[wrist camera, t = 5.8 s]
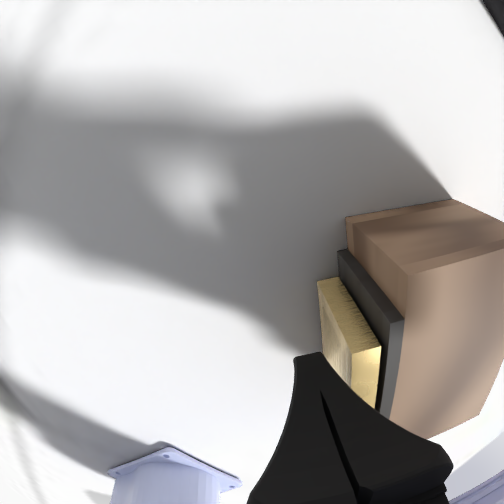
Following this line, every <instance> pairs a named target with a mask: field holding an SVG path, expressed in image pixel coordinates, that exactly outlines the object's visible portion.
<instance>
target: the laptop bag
mask: <svg viewBox="0 0 504 504" xmlns="http://www.w3.org/2000/svg"><path fill="white" fill-rule="evenodd" d="M483 2H484V4H485V5H486V7H487V8H488V10H489V12H490V13H491V15H492V16H493V18H494V20H495V22H496V23H497V25H498V27H499V29H500V30H501V32H502V34H503V36H504V0H483Z"/></svg>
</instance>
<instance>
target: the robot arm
mask: <svg viewBox="0 0 504 504" xmlns="http://www.w3.org/2000/svg"><path fill="white" fill-rule="evenodd" d="M293 362H294V371H295V372H294V386H293V393H292V399H291V404H290V408H289V412H288V416H287V420H286V423H285V426H284V429H283V432H282V435H281V437H280V440H279V442H278V445H277V447H276V449H275V452H274V454H273V456H272V458H271V460H270V462H269V463H268V465H267V467H266V469H265V471H264V473H263V474H262V476H261V478H260V479H259V481H258V482H257V484H256V485H255V487H254V488H253V490H252V491H251V493H250V495H249V498H248V501H247V504H504V470H502V471H501V472H500V473H498V474H496V475H495V476H493V477H491V478H490V479H488V480H487V481H485V482H483V483H482V484H480V485H478V486H476V487H475V488H473V489H471V490H469V491H467V492H466V493H464V494H462V495H460V496H458V497H456V498H454V499H452V500H450V501H448V499H447V497H446V495H445V492H446V491H447V489H446V487H445V484H444V482H445V480H446V479H447V477H448V476H449V475H450V473H451V471H452V469H453V463H452V461H451V459H450V457H449V456H448V454H447V453H446V452H445V450H444V449H443V448H442V446H441V445H439V444H436V443H434V442H431V441H429V440H426V439H424V438H422V437H420V436H417V435H415V434H413V433H411V432H409V431H407V430H406V429H404V428H402V427H401V426H399V425H397V424H396V423H394V422H392V421H391V420H389V419H387V418H386V417H385V416H383V415H382V414H380V413H379V412H378V411H376V410H375V409H374V408H372V407H371V406H370V405H369V404H368V403H366V402H365V401H364V400H363V399H362V398H361V397H360V396H359V395H357V394H356V393H355V392H354V391H353V390H352V389H351V388H350V387H349V386H348V385H347V383H346V382H345V381H344V380H343V379H342V378H341V377H340V376H339V375H338V374H337V372H336V371H335V370H334V369H333V367H332V366H331V365H330V364H329V362H328V361H327V359H326V358H325V356H324V355H323V353H321V352H316V353H312V354H307V355H302V356H297V357H295V358H294V359H293ZM108 475H110V476H111V477H113V478H115V479H116V480H115V484H114V488H113V493H112V497H111V501H110V504H220V493H222V492H225V491H229V490H232V489H235V488H238V487H241V486H242V485H243V484H242V481H241V480H239V479H237V478H234V477H232V476H230V475H227V474H225V473H223V472H221V471H218V470H216V469H214V468H212V467H210V466H208V465H206V464H203V463H201V462H199V461H197V460H195V459H193V458H191V457H190V456H188V455H186V454H184V453H182V452H180V451H178V450H176V449H174V448H171V447H167V448H164V449H162V450H160V451H157V452H155V453H152V454H150V455H147V456H145V457H142V458H140V459H137V460H135V461H132V462H129V463H127V464H124V465H121V466H118V467H116V468H113V469H110V470H108Z"/></svg>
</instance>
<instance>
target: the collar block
mask: <svg viewBox="0 0 504 504" xmlns="http://www.w3.org/2000/svg"><path fill="white" fill-rule="evenodd" d="M345 221H346V233H347V246H348V249H346V250H341V251H337V254H338V267H339V278H340V280H341V282H342V283H343V285H344V286H345V288H346V289H347V291H348V293H349V294H350V296H351V297H352V299H353V301H354V302H355V304H356V305H357V307H358V309H359V310H360V312H361V314H362V315H363V317H364V318H365V320H366V322H367V323H368V325H369V327H370V328H371V330H372V332H373V333H374V335H375V337H376V338H377V340H378V342H379V343H380V345H381V354H380V365H379V375H378V384H377V392H376V400H375V408H374V409H375V410H376V411H378V412H379V413H380V414H382V415H383V416H385V417H386V418H387V419H389V420H391V421H392V422H394V423H396V424H397V425H399V426H401V427H402V428H404V429H406V430H407V431H409V432H411V433H413V434H415V435H417V436H420V437H422V438H424V439H429V438H431V437H433V436H436V435H438V434H440V433H443V432H445V431H447V430H449V429H451V428H453V427H456V426H458V425H460V424H462V423H464V422H466V421H468V420H470V419H472V418H474V417H476V416H477V415H479V413H480V411H481V409H482V407H483V405H484V403H485V401H486V399H487V397H488V395H489V393H490V390H491V388H492V386H493V384H494V381H495V379H496V376H497V374H498V372H499V369H500V367H501V364H502V361H503V359H504V222H502V221H500V220H498V219H496V218H493V217H491V216H489V215H487V214H485V213H483V212H481V211H479V210H477V209H474V208H472V207H470V206H468V205H466V204H463V203H461V202H459V201H456V200H454V199H450V200H444V201H438V202H432V203H426V204H420V205H414V206H408V207H402V208H396V209H390V210H385V211H379V212H373V213H367V214H362V215H356V216H350V217H345Z"/></svg>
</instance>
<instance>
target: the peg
mask: <svg viewBox="0 0 504 504" xmlns="http://www.w3.org/2000/svg"><path fill="white" fill-rule="evenodd" d="M317 287H318V298H319V309H320V320H321V332H322V346H323V355H324V356H325V358H326V359H327V361H328V362H329V364H330V365H331V366H332V367H333V369H334V370H335V371H336V372H337V374H338V375H339V376H340V377H341V378H342V379H343V380H344V381H345V382H346V383H347V385H348V386H349V387H350V388H351V389H352V390H353V391H354V392H355V393H356V394H357V395H359V396H360V397H361V398H362V399H363V400H364V401H365V402H366V403H368V404H369V405H370V406H371V407H372V408H375V400H376V392H377V384H378V375H379V365H380V354H381V345H380V343H379V342H378V340H377V338H376V337H375V335H374V333H373V332H372V330H371V328H370V327H369V325H368V323H367V322H366V320H365V318H364V317H363V315H362V314H361V312H360V310H359V309H358V307H357V305H356V304H355V302H354V301H353V299H352V297H351V296H350V294H349V293H348V291H347V289H346V288H345V286H344V285H343V283H342V282H341V280H340V278H339V277H335V278H330V279H325V280H320V281H317Z"/></svg>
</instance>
